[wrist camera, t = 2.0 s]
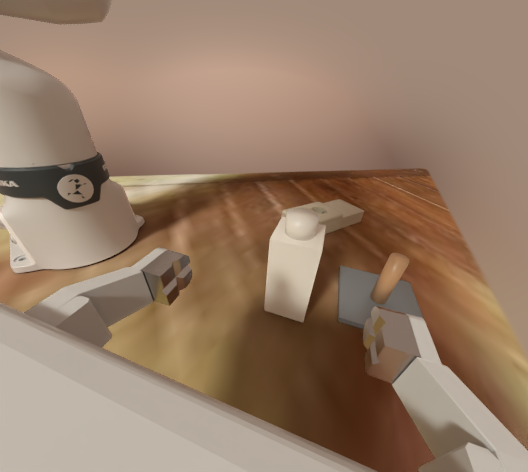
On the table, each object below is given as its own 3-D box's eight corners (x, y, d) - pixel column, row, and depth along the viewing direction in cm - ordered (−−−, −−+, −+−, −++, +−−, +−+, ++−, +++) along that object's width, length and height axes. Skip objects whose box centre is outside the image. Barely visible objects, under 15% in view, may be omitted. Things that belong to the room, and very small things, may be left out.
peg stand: (337, 321, 25) (356, 275, 21) (338, 269, 33) (353, 228, 29) (429, 349, 23) (473, 304, 18) (407, 286, 31) (434, 244, 26)
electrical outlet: (365, 207, 45) (304, 225, 37) (360, 222, 47) (300, 243, 39) (340, 195, 50) (281, 209, 42) (336, 210, 52) (279, 226, 44)
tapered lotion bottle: (264, 310, 26) (271, 221, 19) (274, 282, 30) (284, 200, 23) (303, 322, 25) (327, 232, 17) (308, 292, 29) (330, 209, 21)
